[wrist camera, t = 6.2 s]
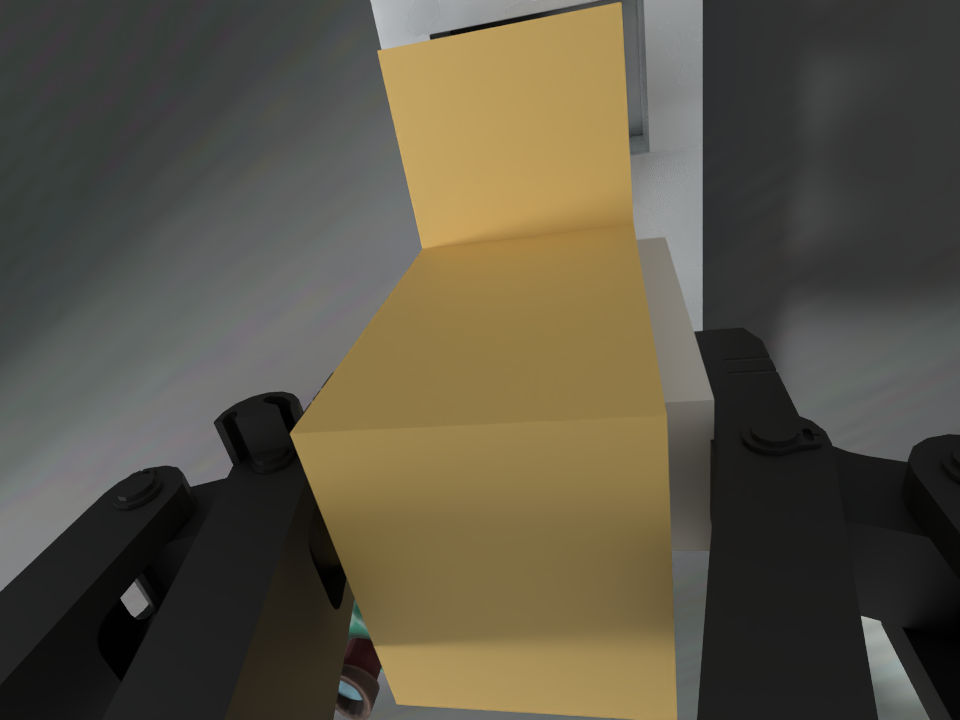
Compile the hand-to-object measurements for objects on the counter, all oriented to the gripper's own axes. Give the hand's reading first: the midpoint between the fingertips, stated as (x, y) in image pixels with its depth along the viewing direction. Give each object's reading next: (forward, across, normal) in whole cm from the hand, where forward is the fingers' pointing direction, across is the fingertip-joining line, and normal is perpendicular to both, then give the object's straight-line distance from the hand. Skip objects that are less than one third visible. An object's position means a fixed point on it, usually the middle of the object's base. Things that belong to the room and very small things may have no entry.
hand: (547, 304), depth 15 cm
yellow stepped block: (+4, 0, 0) cm, 4 cm away
